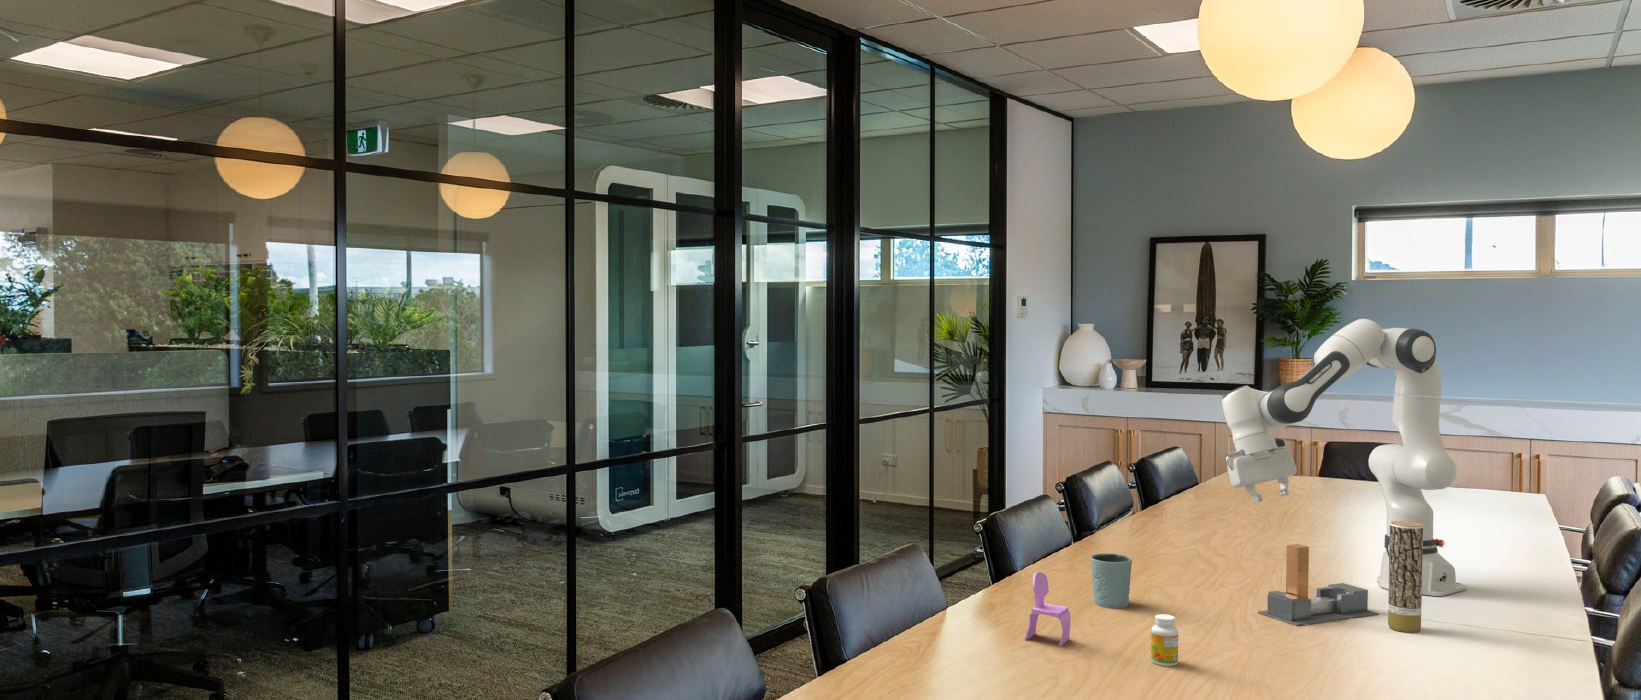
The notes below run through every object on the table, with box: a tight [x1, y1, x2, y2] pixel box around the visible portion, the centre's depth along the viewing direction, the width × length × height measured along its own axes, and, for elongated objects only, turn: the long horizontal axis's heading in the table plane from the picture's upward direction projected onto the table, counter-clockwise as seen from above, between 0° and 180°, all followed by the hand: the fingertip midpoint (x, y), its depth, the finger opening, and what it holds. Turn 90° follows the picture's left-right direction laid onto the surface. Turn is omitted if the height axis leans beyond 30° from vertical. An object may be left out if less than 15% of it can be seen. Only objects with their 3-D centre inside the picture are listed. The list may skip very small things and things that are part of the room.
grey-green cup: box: [1090, 552, 1133, 609], centre depth 263 cm, size 10×10×12 cm
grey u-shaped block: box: [1315, 582, 1369, 615], centre depth 258 cm, size 9×7×5 cm
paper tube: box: [1387, 521, 1423, 634], centre depth 242 cm, size 7×7×25 cm
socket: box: [1267, 590, 1311, 622], centre depth 251 cm, size 6×7×5 cm
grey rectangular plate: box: [1257, 609, 1379, 627], centre depth 255 cm, size 27×12×1 cm, turn 112°
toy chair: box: [1024, 571, 1071, 648], centre depth 232 cm, size 8×9×15 cm
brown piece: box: [1285, 543, 1337, 615], centre depth 253 cm, size 15×4×17 cm, turn 112°
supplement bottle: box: [1150, 613, 1179, 667], centre depth 217 cm, size 5×5×10 cm
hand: (1271, 498), depth 266 cm, fingers open, 8 cm apart
